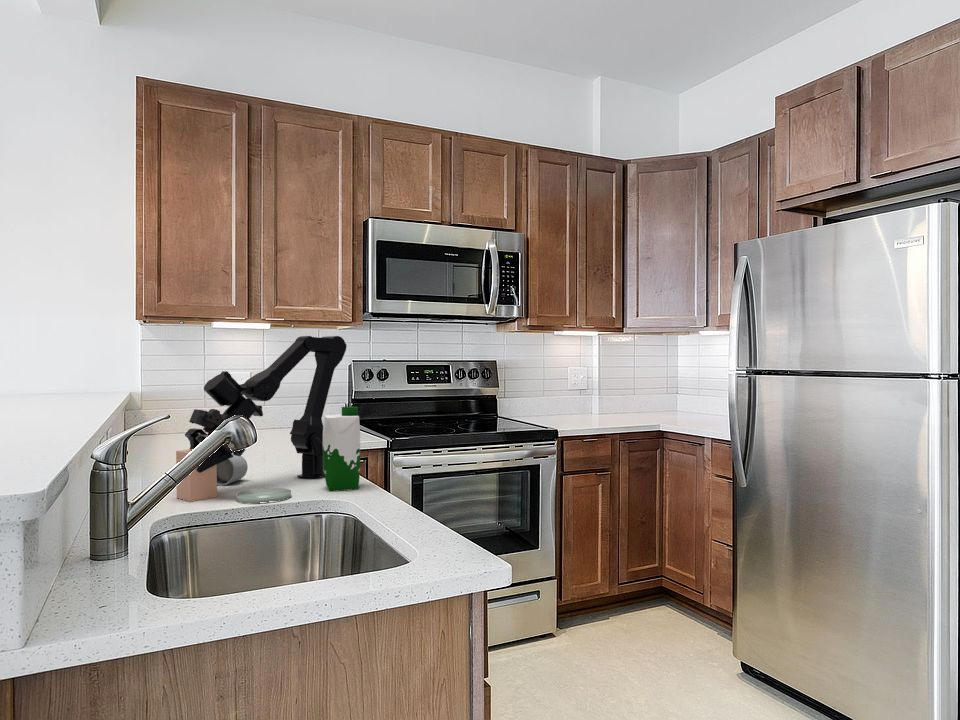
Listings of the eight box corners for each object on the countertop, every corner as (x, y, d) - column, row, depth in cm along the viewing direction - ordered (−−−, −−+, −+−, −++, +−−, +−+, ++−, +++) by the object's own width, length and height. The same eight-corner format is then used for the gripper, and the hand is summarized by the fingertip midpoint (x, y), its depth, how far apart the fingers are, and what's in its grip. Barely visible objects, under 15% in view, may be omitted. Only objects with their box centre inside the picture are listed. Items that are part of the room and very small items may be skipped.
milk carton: (362, 489, 157) (361, 407, 157) (324, 492, 154) (323, 409, 154) (358, 483, 165) (357, 405, 165) (321, 485, 163) (321, 406, 163)
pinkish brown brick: (203, 493, 155) (202, 447, 155) (216, 496, 151) (216, 449, 151) (176, 498, 150) (176, 451, 150) (190, 501, 146) (189, 453, 146)
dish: (257, 491, 156) (257, 486, 156) (301, 493, 153) (301, 488, 153) (225, 502, 145) (224, 497, 145) (271, 505, 141) (271, 499, 141)
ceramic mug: (250, 479, 172) (249, 451, 172) (234, 485, 164) (233, 455, 164) (212, 480, 173) (212, 451, 173) (195, 486, 165) (194, 456, 165)
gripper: (192, 395, 159) (146, 445, 150) (232, 398, 147) (186, 451, 139) (222, 424, 165) (180, 473, 157) (263, 429, 154) (220, 482, 145)
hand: (190, 470), depth 149 cm, fingers closed on pinkish brown brick, 6 cm apart
